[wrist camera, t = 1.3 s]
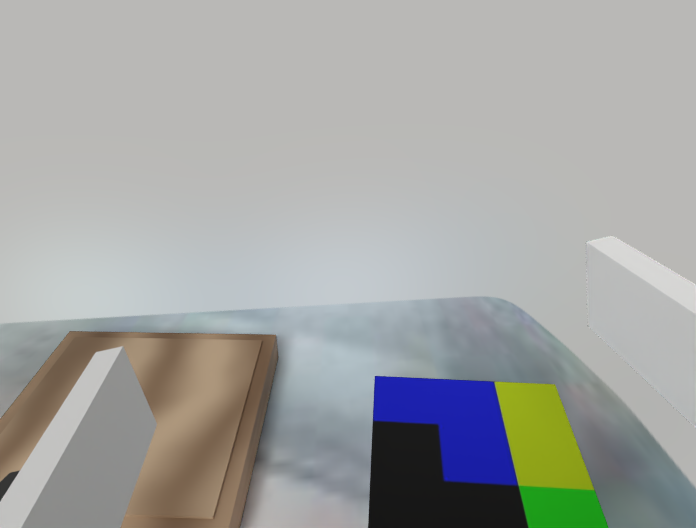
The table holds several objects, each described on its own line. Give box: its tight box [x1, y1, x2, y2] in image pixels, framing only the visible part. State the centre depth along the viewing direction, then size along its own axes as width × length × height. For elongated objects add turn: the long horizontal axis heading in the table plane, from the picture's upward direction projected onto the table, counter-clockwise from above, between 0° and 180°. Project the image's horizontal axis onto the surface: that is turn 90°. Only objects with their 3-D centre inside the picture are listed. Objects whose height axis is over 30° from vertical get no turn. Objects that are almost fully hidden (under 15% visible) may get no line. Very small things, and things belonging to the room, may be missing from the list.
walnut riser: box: [0, 331, 278, 528], centre depth 38 cm, size 18×18×3 cm
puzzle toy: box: [368, 376, 608, 528], centre depth 28 cm, size 10×10×10 cm
